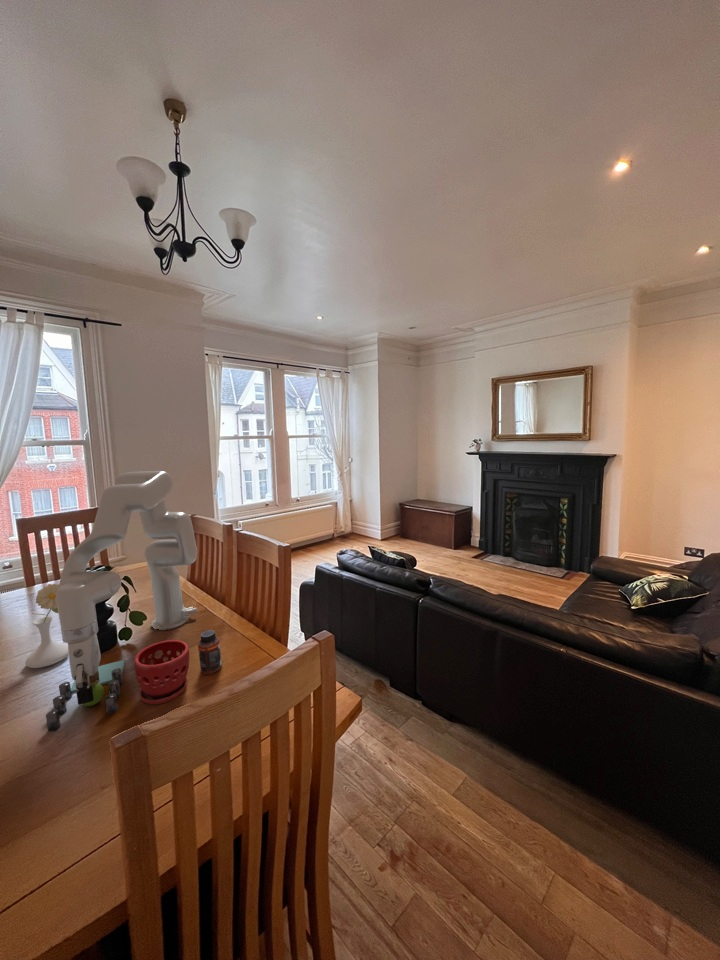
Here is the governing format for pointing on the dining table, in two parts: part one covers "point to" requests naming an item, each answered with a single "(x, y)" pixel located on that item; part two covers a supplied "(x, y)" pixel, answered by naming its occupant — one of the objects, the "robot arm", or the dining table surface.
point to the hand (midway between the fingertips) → (89, 692)
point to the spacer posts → (66, 694)
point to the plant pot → (162, 671)
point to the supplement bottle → (209, 652)
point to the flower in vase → (46, 632)
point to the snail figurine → (95, 689)
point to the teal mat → (104, 673)
